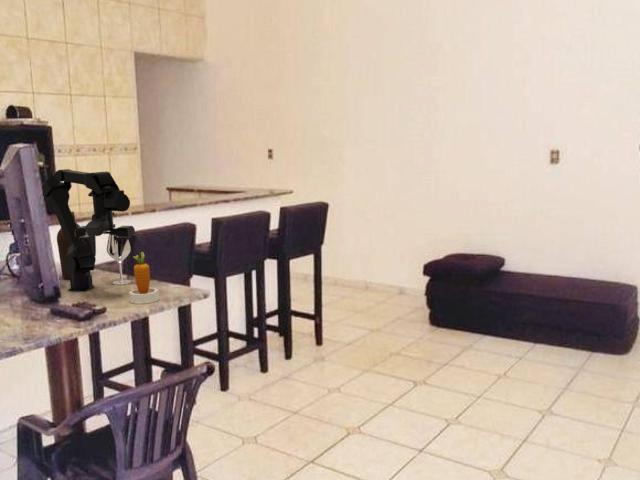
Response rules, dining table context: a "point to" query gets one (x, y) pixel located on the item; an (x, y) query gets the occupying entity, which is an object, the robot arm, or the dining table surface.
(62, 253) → the olive oil
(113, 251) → the wineglass
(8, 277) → the dining table surface
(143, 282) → the carrot
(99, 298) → the dining table surface
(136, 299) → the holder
